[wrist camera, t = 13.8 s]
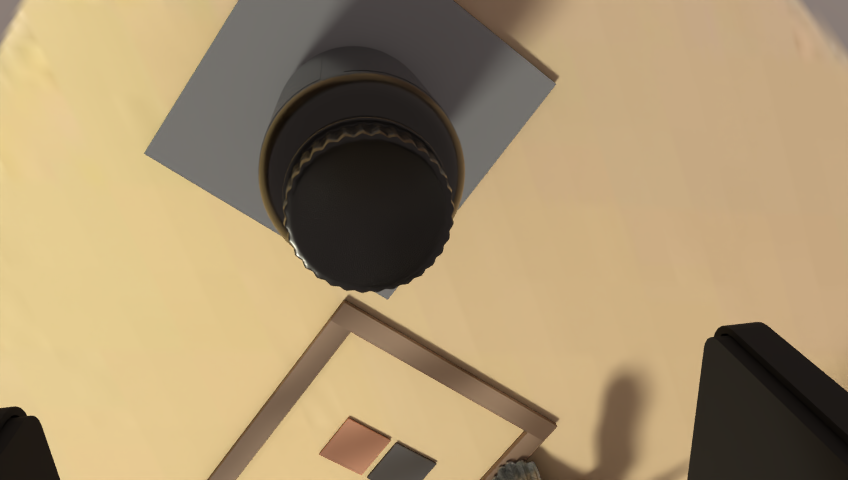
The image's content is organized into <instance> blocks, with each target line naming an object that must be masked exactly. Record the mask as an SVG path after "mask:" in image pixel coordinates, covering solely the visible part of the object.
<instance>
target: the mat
mask: <svg viewBox="0 0 848 480" xmlns="http://www.w3.org/2000/svg"><path fill="white" fill-rule="evenodd" d="M345 46H361V47H367V48H372V49H376V50H379V51H382V52H384V53H386V54H388V55H390V56H392V57H394V58H396V59H397V60H399V61H400V62H401V63H403V64H404V65H405V66H406V67H407V68H408V69H409V70H410V71H411V72H412V73H413V74H414V75H415V76H416V77H417V78H418V79H419V81H420V82H421V83H422V84H423V85H424V87H425V88H426V89H427V90H428V92H429V93H430V94H431V95H432V96H433V98H434V99H435V100H436V101H437V103H438V104H439V105H440V106H441V107H442V109H443V110H444V111H445V113H446V114H447V116H448V117H449V119H450V121H451V123H452V124H453V126H454V128H455V130H456V132H457V135H458V137H459V140H460V143H461V146H462V150H463V155H464V162H465V182H464V189H463V194H462V198H461V201H460V204H459V207H458V209H459V208H460V207H461V205H462V204H463V203H464V201H465V200H466V199H467V198H468V196H469V195H470V194H471V193H472V191H473V190H474V189H475V187H476V186H477V185H478V184H479V182H480V181H481V180H482V178H483V177H484V176H485V175H486V173H487V172H488V171H489V169H490V168H491V167H492V166H493V164H494V163H495V162H496V161H497V159H498V158H499V157H500V155H501V154H502V153H503V152H504V150H505V149H506V148H507V146H508V145H509V144H510V143H511V141H512V140H513V139H514V137H515V136H516V135H517V134H518V132H519V131H520V130H521V129H522V127H523V126H524V125H525V123H526V122H527V121H528V120H529V118H530V117H531V116H532V114H533V113H534V112H535V111H536V109H537V108H538V107H539V106H540V104H541V103H542V102H543V100H544V99H545V98H546V97H547V95H548V94H549V93H550V91H551V90H552V89H553V88H554V86H555V85H556V84H555V83H554V82H553V81H552V80H551V79H549V78H548V77H547V76H546V75H544V74H543V73H542V72H541V71H539V70H538V69H537V68H536V67H534V66H533V65H532V64H531V63H530V62H528V61H527V60H526V59H525V58H523V57H522V56H521V55H520V54H518V53H517V52H516V51H515V50H514V49H512V48H511V47H510V46H509V45H507V44H506V43H505V42H504V41H502V40H501V39H500V38H499V37H498V36H496V35H495V34H494V33H493V32H491V31H490V30H489V29H488V28H486V27H485V26H484V25H483V24H482V23H480V22H479V21H478V20H477V19H475V18H474V17H473V16H472V15H470V14H469V13H468V12H467V11H466V10H464V9H463V8H462V7H461V6H459V5H458V4H457V3H456V2H454V1H453V0H239V1H238V2H237V4H236V5H235V7H234V9H233V10H232V12H231V13H230V15H229V17H228V18H227V20H226V22H225V23H224V25H223V26H222V28H221V30H220V31H219V33H218V35H217V36H216V38H215V39H214V41H213V43H212V44H211V46H210V48H209V49H208V51H207V52H206V54H205V56H204V57H203V59H202V60H201V62H200V64H199V65H198V67H197V69H196V70H195V72H194V73H193V75H192V77H191V78H190V80H189V82H188V83H187V85H186V86H185V88H184V90H183V91H182V93H181V95H180V96H179V98H178V99H177V101H176V103H175V104H174V106H173V107H172V109H171V111H170V112H169V114H168V116H167V117H166V119H165V120H164V122H163V124H162V125H161V127H160V129H159V130H158V132H157V133H156V135H155V137H154V138H153V140H152V142H151V143H150V145H149V146H148V148H147V150H146V151H145V153H144V154H146V155H147V156H149V157H151V158H152V159H154V160H156V161H157V162H159V163H161V164H162V165H164V166H166V167H167V168H169V169H171V170H172V171H174V172H176V173H177V174H179V175H181V176H182V177H184V178H186V179H187V180H189V181H191V182H192V183H194V184H196V185H197V186H199V187H201V188H202V189H204V190H206V191H207V192H209V193H211V194H212V195H214V196H216V197H217V198H219V199H221V200H222V201H224V202H226V203H227V204H229V205H231V206H232V207H234V208H236V209H237V210H239V211H241V212H242V213H244V214H246V215H247V216H249V217H251V218H252V219H254V220H256V221H257V222H259V223H261V224H262V225H264V226H266V227H267V228H269V229H271V230H272V231H274V232H276V233H277V234H279V235H280V233H279V232H278V231H277V229H276V228H275V226H274V225H273V223H272V221H271V220H270V218H269V216H268V214H267V212H266V209H265V207H264V204H263V201H262V198H261V193H260V189H259V180H258V166H259V156H260V151H261V146H262V143H263V139H264V136H265V133H266V131H267V128H268V125H269V123H270V120H271V117H272V115H273V112H274V109H275V107H276V104H277V101H278V99H279V97H280V94H281V92H282V90H283V88H284V86H285V85H286V83H287V81H288V80H289V79H290V77H291V76H292V75H293V73H294V72H295V71H296V70H297V69H298V68H299V67H300V66H301V65H302V64H304V63H305V62H306V61H308V60H309V59H311V58H312V57H314V56H316V55H318V54H320V53H322V52H324V51H327V50H330V49H334V48H338V47H345ZM396 288H397V287H396ZM396 288H395V289H384V290H382V291H380V292H376V293H377V294H379V295H381V296H382V297H384V298H386V299H387V300H388V299H389V297H390V296H391V295H392V294H393V292H394V291H395V290H396Z"/></svg>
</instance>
